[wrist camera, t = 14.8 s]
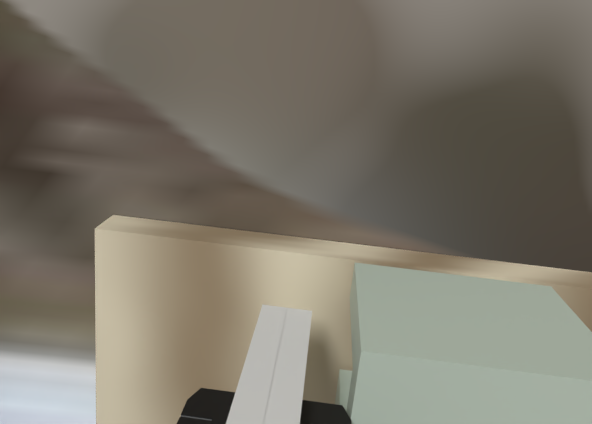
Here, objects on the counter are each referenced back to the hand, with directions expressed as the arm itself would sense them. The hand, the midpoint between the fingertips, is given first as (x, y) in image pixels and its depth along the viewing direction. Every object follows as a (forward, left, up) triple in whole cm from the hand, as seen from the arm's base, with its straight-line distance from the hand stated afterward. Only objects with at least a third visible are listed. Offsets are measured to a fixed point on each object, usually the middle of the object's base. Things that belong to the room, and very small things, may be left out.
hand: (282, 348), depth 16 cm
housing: (+5, 0, -1) cm, 5 cm away
